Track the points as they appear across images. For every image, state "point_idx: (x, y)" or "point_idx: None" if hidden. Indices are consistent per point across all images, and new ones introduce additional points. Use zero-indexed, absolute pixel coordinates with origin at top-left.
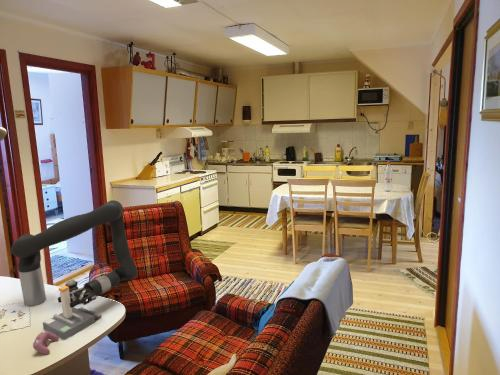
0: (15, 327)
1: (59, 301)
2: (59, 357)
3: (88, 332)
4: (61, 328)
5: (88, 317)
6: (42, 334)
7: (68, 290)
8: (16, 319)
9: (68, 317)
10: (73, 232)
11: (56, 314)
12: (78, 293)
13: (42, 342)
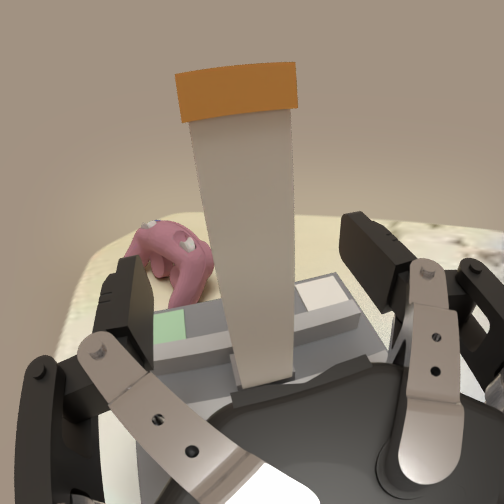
0: (407, 239)
1: (340, 245)
2: (78, 296)
3: (99, 435)
4: (183, 317)
5: (160, 480)
6: (160, 230)
7: (190, 132)
8: (461, 245)
9: (234, 358)
10: None
11: (348, 313)
12: (318, 397)
13: (142, 242)
